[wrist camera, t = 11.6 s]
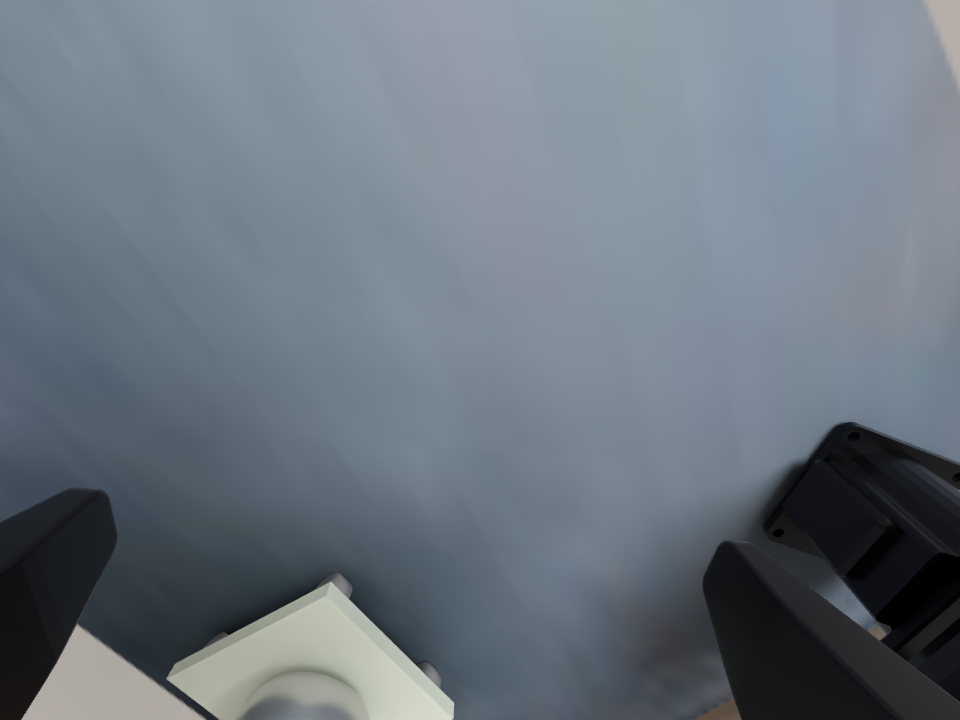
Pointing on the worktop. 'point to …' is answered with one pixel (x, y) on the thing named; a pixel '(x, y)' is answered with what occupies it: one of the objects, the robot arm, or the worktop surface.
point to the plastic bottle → (303, 699)
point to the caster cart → (314, 659)
